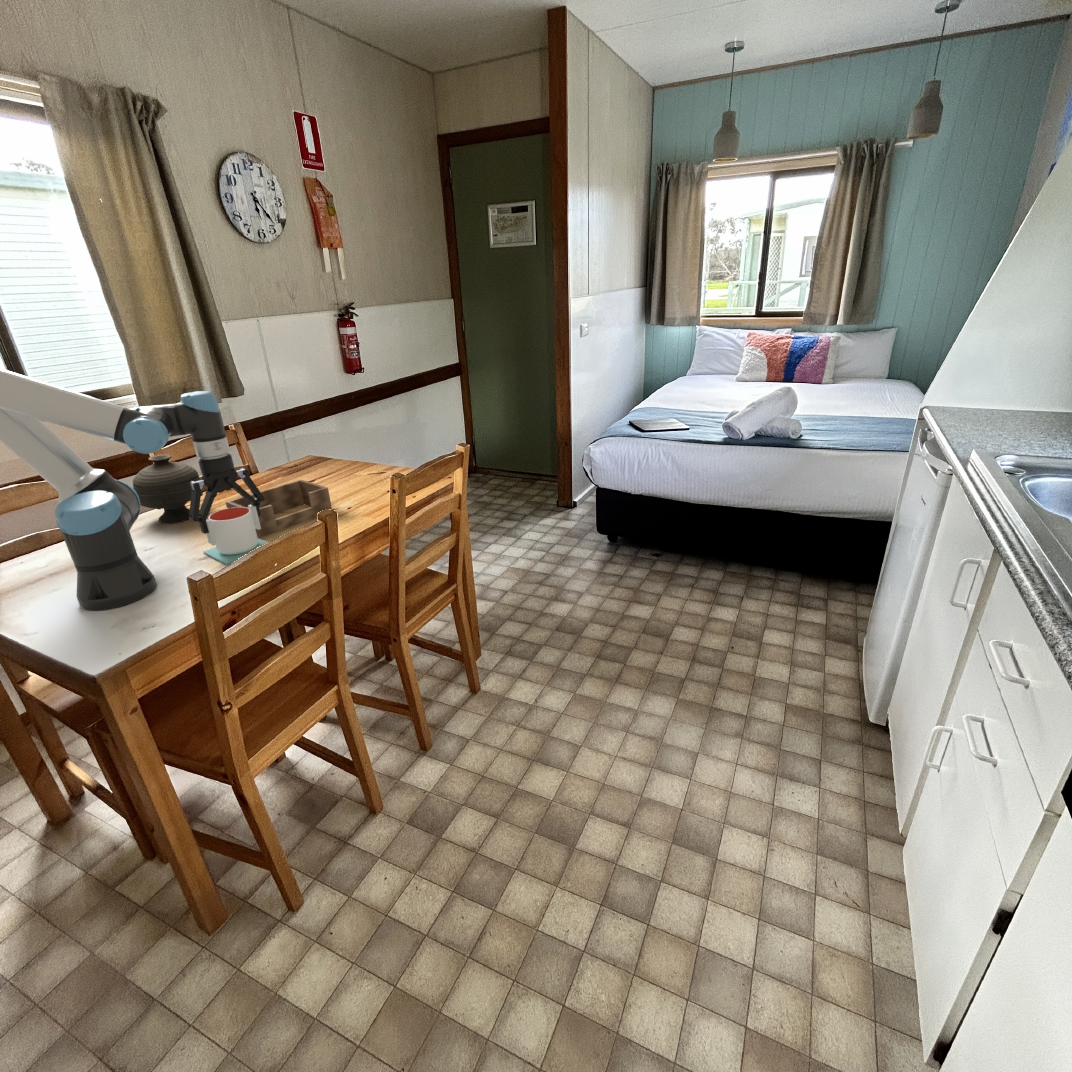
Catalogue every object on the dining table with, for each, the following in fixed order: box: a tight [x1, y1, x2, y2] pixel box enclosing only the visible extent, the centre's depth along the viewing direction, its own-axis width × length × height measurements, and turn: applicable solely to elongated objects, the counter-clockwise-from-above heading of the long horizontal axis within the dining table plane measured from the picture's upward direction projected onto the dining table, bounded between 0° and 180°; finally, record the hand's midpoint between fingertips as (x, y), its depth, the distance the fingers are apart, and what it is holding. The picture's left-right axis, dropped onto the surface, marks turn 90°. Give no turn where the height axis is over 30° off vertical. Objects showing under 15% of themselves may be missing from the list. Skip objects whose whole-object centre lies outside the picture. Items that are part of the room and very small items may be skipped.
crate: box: [224, 479, 333, 539], centre depth 174 cm, size 24×15×8 cm, turn 142°
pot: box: [132, 453, 204, 524], centre depth 178 cm, size 18×18×20 cm
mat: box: [202, 538, 269, 566], centre depth 156 cm, size 13×13×1 cm
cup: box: [207, 507, 258, 555], centre depth 154 cm, size 10×10×10 cm
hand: (235, 535), depth 154 cm, fingers open, 11 cm apart
